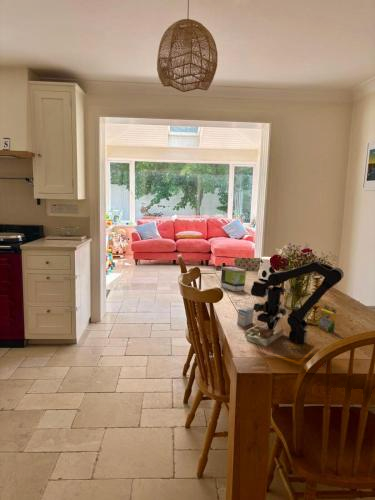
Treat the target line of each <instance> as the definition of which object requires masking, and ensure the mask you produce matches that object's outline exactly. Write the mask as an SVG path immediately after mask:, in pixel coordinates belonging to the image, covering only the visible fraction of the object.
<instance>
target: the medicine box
mask: <svg viewBox="0 0 375 500" xmlns="http://www.w3.org/2000/svg"><path fill="white" fill-rule="evenodd" d="M253 308H254V307H251V306H250V307H249V306H247V305H246V306H244V307H240V308H239V309H237V310H238V311H237V323H236V324H237V325H239V326H242V327H246V326H249V325H251V324H253V319H254V311H255V310H254V309H253Z"/></svg>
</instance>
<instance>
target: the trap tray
mask: <svg viewBox="0 0 375 500" xmlns="http://www.w3.org/2000/svg"><path fill="white" fill-rule="evenodd" d="M263 328H268V325H267V324H265V325H263V326H260V325H259V324H256V325H254V326H252V327H250V328H248V329H247V330H245V332H244V333H245V335H244V336H245V337H246V341H248V342H250V343H254V344H256V345H261V346H263V347H267V346H268V345H270V344H271V343H273V342H274V341H276V340H278V339H279V338H280V337H282V336H283V335H284V329H280V330H279V331H277V332H276V331H274V335H273V336H271V337H269V338H268V339H266V338H263V337H260V336H259V335H260V330H261V329H263Z"/></svg>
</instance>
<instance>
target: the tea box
mask: <svg viewBox="0 0 375 500" xmlns="http://www.w3.org/2000/svg"><path fill="white" fill-rule="evenodd" d="M246 273H247V270H246V269H244V268H240V267H235V266H222V267H221V276H220V288H222V289H226V290H230V291H232V292H243V291H244V290H245V287H246V275H247V274H246ZM242 290H243V291H242Z"/></svg>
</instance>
